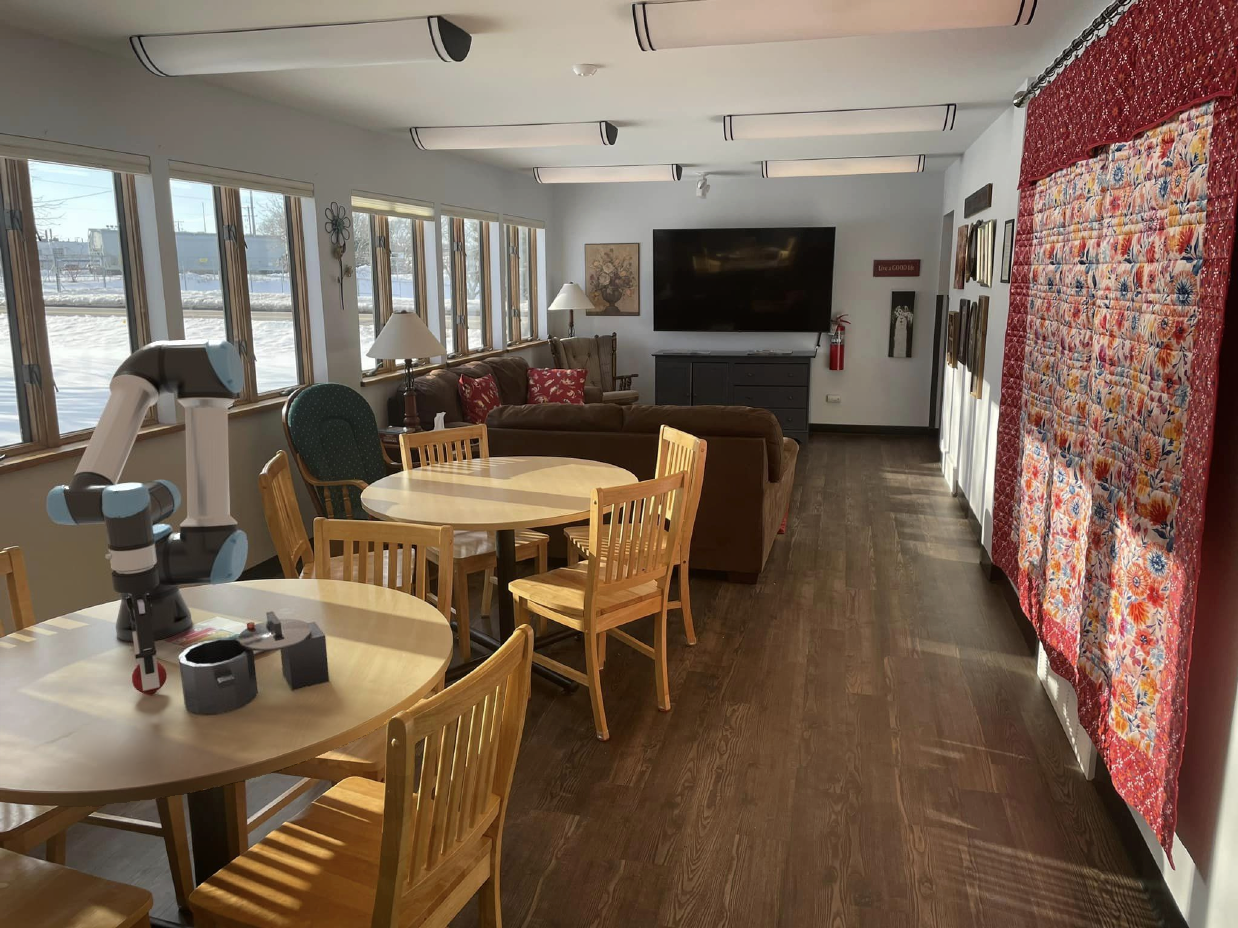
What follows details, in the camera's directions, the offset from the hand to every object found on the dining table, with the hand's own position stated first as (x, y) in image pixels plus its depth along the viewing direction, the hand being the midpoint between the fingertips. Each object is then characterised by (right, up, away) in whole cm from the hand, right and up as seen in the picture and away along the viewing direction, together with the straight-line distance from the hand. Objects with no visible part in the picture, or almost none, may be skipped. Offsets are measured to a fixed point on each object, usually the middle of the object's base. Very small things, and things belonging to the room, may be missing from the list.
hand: (147, 674), depth 169 cm
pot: (+14, -4, 0) cm, 15 cm away
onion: (0, -4, +1) cm, 5 cm away
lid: (+23, +7, +3) cm, 24 cm away
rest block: (+27, -2, +8) cm, 28 cm away
